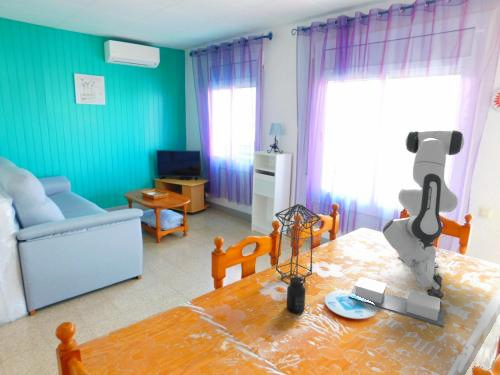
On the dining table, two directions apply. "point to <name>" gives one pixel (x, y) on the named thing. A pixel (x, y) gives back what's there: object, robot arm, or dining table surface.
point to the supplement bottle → (296, 296)
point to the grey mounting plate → (401, 301)
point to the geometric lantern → (297, 236)
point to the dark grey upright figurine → (433, 291)
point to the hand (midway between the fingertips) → (438, 285)
